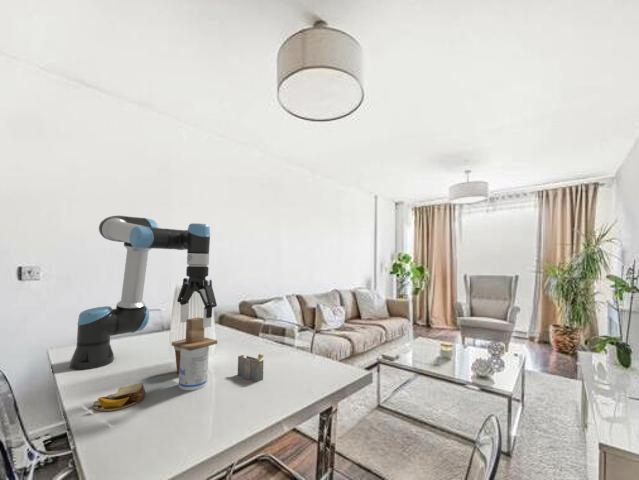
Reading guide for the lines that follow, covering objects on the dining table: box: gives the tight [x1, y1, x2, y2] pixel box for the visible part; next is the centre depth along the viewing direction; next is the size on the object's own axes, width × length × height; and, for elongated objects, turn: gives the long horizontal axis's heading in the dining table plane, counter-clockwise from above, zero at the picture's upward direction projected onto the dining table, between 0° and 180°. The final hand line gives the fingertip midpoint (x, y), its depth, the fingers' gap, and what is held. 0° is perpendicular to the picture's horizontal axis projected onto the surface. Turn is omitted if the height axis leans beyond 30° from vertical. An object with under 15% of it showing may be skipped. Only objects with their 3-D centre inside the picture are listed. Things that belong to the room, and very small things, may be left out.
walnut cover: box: [171, 316, 218, 351], centre depth 112 cm, size 11×11×9 cm
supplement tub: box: [178, 346, 210, 391], centre depth 111 cm, size 10×10×15 cm
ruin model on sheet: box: [237, 353, 264, 383], centre depth 120 cm, size 11×3×10 cm, turn 55°
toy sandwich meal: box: [93, 381, 146, 412], centre depth 97 cm, size 12×14×5 cm
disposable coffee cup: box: [173, 346, 181, 375], centre depth 124 cm, size 10×10×12 cm
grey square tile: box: [131, 375, 179, 396], centre depth 111 cm, size 12×12×1 cm
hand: (195, 324), depth 112 cm, fingers open, 13 cm apart
